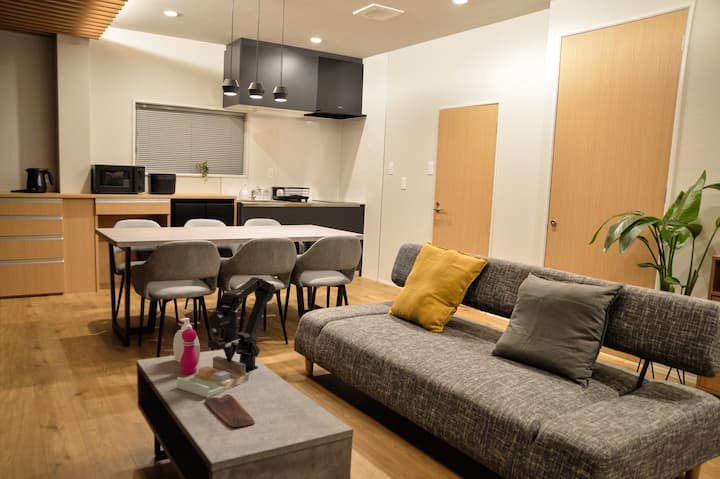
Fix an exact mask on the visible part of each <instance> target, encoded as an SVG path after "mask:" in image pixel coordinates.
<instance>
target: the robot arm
mask: <svg viewBox="0 0 720 479" xmlns="http://www.w3.org/2000/svg"><path fill="white" fill-rule="evenodd" d="M276 290H277V289H276V286H275V285H274V283H271V282H269V281H267V280H264V279H263V278H261V277H257V276H256V277H254V276H253V277H251V278H250V279H249V280H248V281H246V282H245V283H243V284H242V285H240V286H238V287H237V288H236V289H232V290H231V289H230V290H228V291H225V292H223V294H222V295H221V297H220V299H219V301H218V303H217V306H216V307H215V310H213V312H212V314H211V315H210V316H209V318H208V325H209V326H210V328H211V329H209V332H208V334H209V337H210V338H212V339H209V341H207V348H209V349H213V350H217V351H219V350H223V352H224V354H225V357H226V359H227V361H231V360H233V358H234V356H235V354H236V355H239V361H238V362H240V363H243V364H246V370H245V372H250V371H251V372H252V371H253V370H256V369H258V368H259V366H257V365H256V357H258V356H259V354H260V351H261V349H260V348H259V347H258V345H257V343H258V340H257V339H258V338H257V335H256V334H257V332H258V328H259V325H260V323H261V320H262V317H263V315H264V312H265V308H266V306H267V304H268V303H269V302H270V301H272V299H273V297H274V295H275V294H276ZM253 292H254V299H255V301H254V304H253V307H252V309H251V312H250V313H249V314H250V315H249V318H248V320H247V323H246V324H245V328H244V330H243V331H240V332H239V331H238V330H240V329H241V328H240V327H241V325H239V324H238V323H239V322H238V319H239V316H238V315H239V312H241V310H242V309H241V308H240V307H241V305H242V304H243V302H244V299H245V298H246V297H247V296H249V295H251V294H252V293H253Z"/></svg>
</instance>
